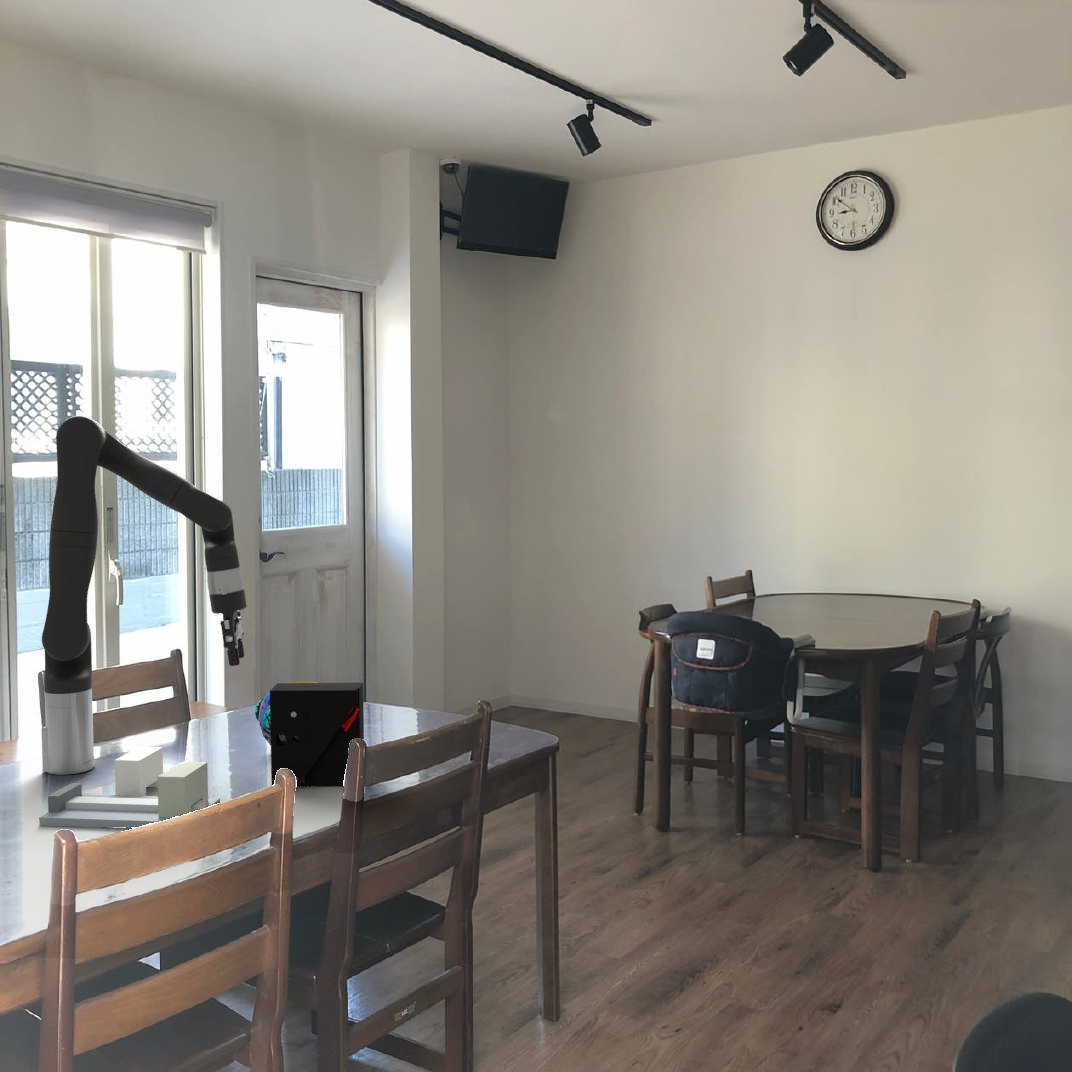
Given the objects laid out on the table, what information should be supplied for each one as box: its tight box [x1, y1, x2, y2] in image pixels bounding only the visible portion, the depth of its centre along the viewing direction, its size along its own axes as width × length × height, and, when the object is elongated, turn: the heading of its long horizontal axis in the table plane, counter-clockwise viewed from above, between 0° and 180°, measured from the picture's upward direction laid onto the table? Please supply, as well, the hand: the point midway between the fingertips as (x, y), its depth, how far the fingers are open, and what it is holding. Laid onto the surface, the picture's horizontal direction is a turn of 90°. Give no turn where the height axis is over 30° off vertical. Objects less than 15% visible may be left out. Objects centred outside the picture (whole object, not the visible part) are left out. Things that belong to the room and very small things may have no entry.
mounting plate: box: [38, 760, 221, 829], centre depth 197 cm, size 28×14×9 cm, turn 84°
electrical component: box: [269, 681, 365, 789], centre depth 218 cm, size 18×10×20 cm, turn 92°
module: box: [114, 746, 164, 796], centre depth 213 cm, size 5×10×8 cm, turn 174°
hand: (237, 661), depth 237 cm, fingers open, 8 cm apart
